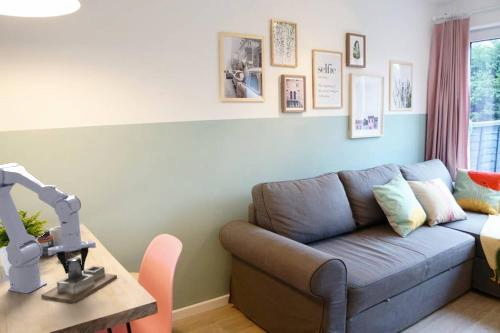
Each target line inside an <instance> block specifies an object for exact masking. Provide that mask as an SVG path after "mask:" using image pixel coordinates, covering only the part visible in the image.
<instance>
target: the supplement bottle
mask: <svg viewBox="0 0 500 333" xmlns="http://www.w3.org/2000/svg"><path fill="white" fill-rule="evenodd" d="M43 230H44V233H45V234H44V235H43V236H41V237H39V236H38V237H37V239H36V240H37V242H38V243H39V244H40V245H41V247H42V254H41V255H40V256H39V259H49V258H52V257H54V256H55V254H52V255H48V248H52V247H54V243H53V236H52V235H51V233H50V229H43Z"/></svg>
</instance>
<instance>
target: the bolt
mask: <svg viewBox="0 0 500 333" xmlns="http://www.w3.org/2000/svg"><path fill="white" fill-rule="evenodd" d="M76 253H77V254H78V253H80V254H81V250H75V251H69V252H66V262H67V260H68V259H71V258H72V257H71V256H73V255H75V254H76Z"/></svg>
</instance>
